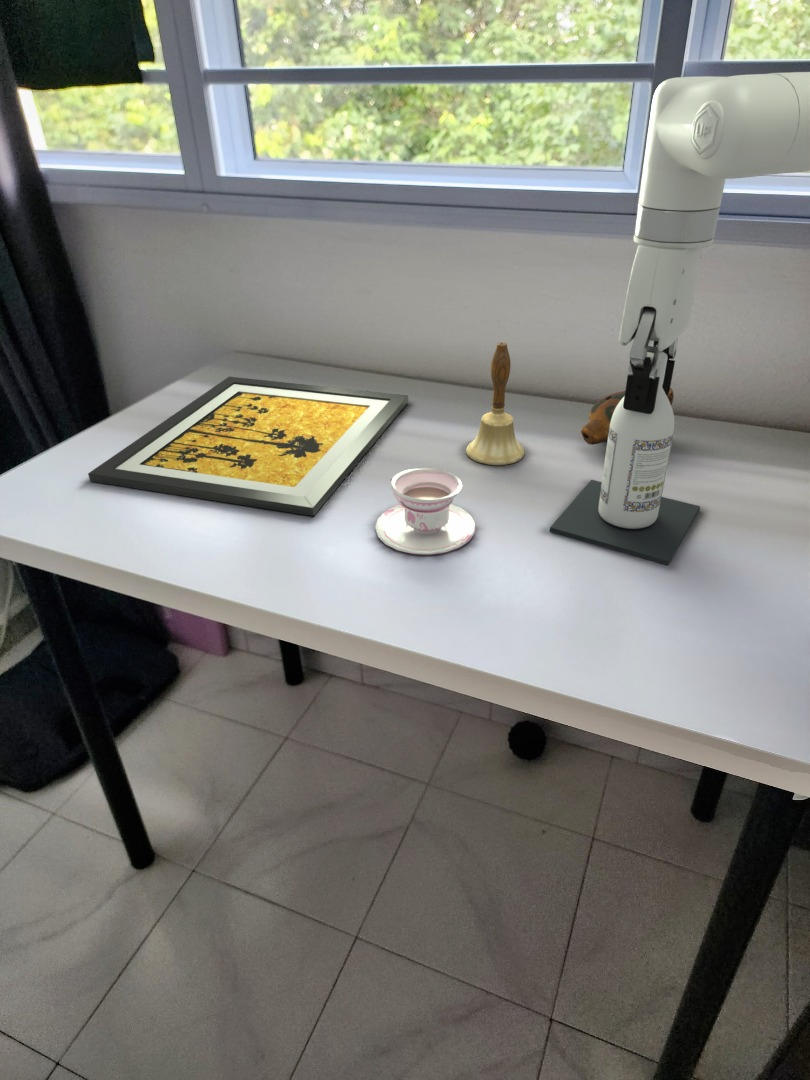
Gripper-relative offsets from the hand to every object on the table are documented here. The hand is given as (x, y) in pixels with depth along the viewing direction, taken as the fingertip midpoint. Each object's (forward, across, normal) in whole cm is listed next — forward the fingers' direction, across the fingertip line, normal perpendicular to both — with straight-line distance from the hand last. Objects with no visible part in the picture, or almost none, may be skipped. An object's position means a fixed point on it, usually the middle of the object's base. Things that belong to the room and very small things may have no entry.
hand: (646, 400), depth 82 cm
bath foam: (+15, 0, 0) cm, 15 cm away
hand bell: (+16, -9, -22) cm, 29 cm away
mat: (+16, 0, 0) cm, 16 cm away
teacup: (+16, +14, -20) cm, 29 cm away
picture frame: (+15, +4, -54) cm, 56 cm away
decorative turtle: (+16, -21, -7) cm, 27 cm away
